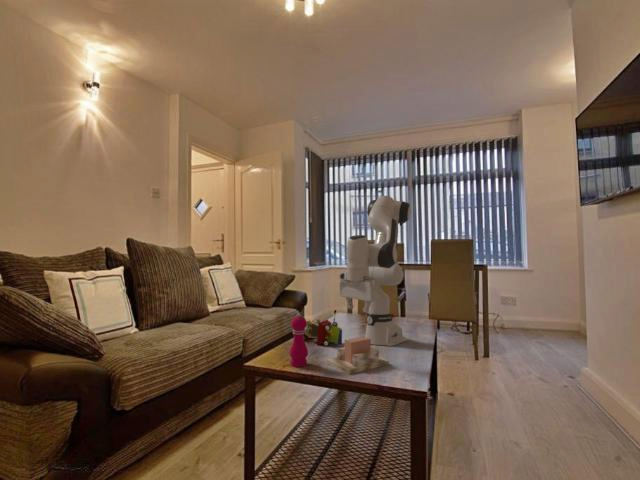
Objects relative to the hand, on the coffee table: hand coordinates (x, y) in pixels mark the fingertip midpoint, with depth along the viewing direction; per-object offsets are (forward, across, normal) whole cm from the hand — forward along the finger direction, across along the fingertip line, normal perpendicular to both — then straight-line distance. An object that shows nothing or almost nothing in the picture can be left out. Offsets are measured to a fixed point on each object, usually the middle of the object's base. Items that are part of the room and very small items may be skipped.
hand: (358, 310), depth 130 cm
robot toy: (+21, +32, -4) cm, 39 cm away
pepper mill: (+21, +12, +20) cm, 31 cm away
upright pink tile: (+19, 0, 0) cm, 19 cm away
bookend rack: (+21, 0, 0) cm, 21 cm away
